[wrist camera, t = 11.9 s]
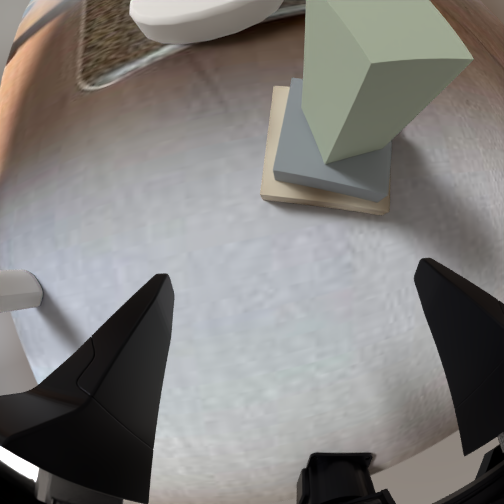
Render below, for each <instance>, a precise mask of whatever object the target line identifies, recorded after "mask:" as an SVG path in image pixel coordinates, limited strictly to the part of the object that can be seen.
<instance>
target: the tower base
mask: <svg viewBox="0 0 504 504" xmlns="http://www.w3.org/2000/svg"><path fill="white" fill-rule="evenodd" d="M289 90H290V87H284V86H274V88H273V96H272V104H271V112H270V120H269V128H268V136H267V144H266V152H265V160H264V168H263V176H262V184H261V192H260V195H261V197H262V199H263V200H269V201H278V202H287V203H296V204H304V205H312V206H320V207H327V208H335V209H342V210H349V211H355V212H362V213H368V214H375V215H381V216H382V215H384V214H386V213H388V212H389V208H390V178H389V189H388V196H386V197H385V198H383V199H382V200H380V201H379V202H378V203H377V202H373V201H369V200H365V199H361V198H357V197H353V196H348V195H344V194H340V193H335V192H331V191H326V190H322V189H317V188H312V187H308V186H303V185H298V184H293V183H287V182H282V181H277V180H275V178H274V173H273V167H274V162H275V157H276V152H277V148H278V143H279V138H280V133H281V128H282V124H283V119H284V114H285V109H286V104H287V100H288V95H289Z"/></svg>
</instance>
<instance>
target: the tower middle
mask: <svg viewBox="0 0 504 504" xmlns="http://www.w3.org/2000/svg"><path fill="white" fill-rule="evenodd" d="M302 89H303V79H298V78H292V80H291V85H290V90H289V95H288V100H287V104H286V109H285V114H284V119H283V124H282V128H281V133H280V138H279V143H278V148H277V152H276V157H275V162H274V167H273V173H274V178H275V180H277V181H282V182H287V183H293V184H298V185H303V186H308V187H312V188H317V189H322V190H326V191H331V192H335V193H340V194H344V195H348V196H353V197H357V198H361V199H365V200H369V201H373V202H377V203H378V202H379V201H380V200H382V199H383V198H385V197H386V196H388V189H389V178H390V167H391V152H392V140H391V141H390V142H389V143H388V144H387V145H386V146H385V147H384V148H383V149H380V150H376V151H372V152H368V153H364V154H361V155H357V156H353V157H350V158H346V159H342V160H339V161H335V162H332V163H328V164H324V161H323V159H322V156H321V154H320V151H319V149H318V146H317V144H316V141H315V139H314V136H313V134H312V131H311V129H310V127H309V124H308V122H307V120H306V117H305V115H304V113H303V111H302V108H301V105H302Z"/></svg>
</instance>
